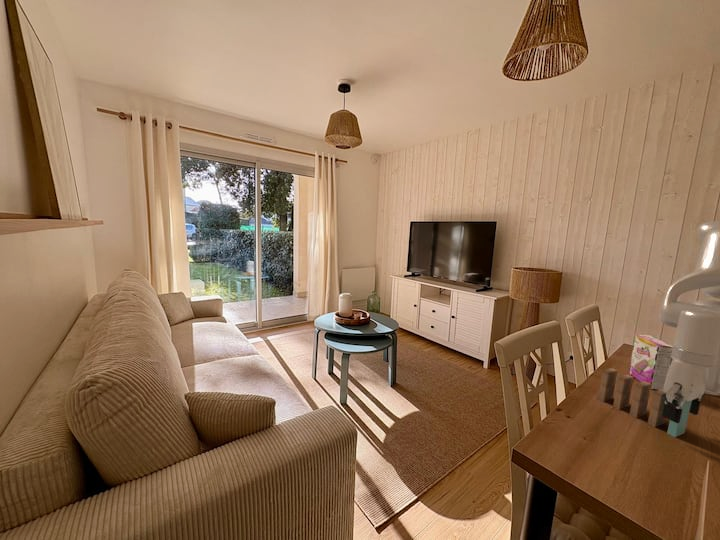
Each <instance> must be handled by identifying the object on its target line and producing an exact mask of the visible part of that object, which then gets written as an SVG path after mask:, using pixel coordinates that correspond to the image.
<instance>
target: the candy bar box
mask: <svg viewBox="0 0 720 540" xmlns="http://www.w3.org/2000/svg"><path fill="white" fill-rule="evenodd" d="M634 336H635V337H634V341H633V347H632V352H631V359H630V364H629V370H628V375H632V376H633V377H635V378H636V380H637V381H638V380H639V383H640V382H643V381H646V382H649V383H651V389H650V390H652V389H655V390H654V391H657V390H660V389H663V387H664V384H665V380H666V376H667V373H668V370H669V367H670V365H671V362H672V360H673V358H672V357H671V355H672V350H673V345H670V344H668V343H667V342H664V341H663V340H660V339H658V338H656V337H654V336H652V335H648V334H639V333H635V335H634ZM635 378H634V379H635Z"/></svg>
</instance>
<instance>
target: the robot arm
mask: <svg viewBox="0 0 720 540" xmlns="http://www.w3.org/2000/svg"><path fill="white" fill-rule="evenodd" d="M696 237H697V240H698V242H699V245H700V246H701V247H700V250H699V254H698V257H697V261H696V263H695V267H694V270H693V272H690V273H688V274H686V275H683V276H681V277H680V278H677V280H675V281H673V282H672V283H671V284H670V285H669V286H668V287H667V288H666V290H665V292H664V293H663V297H662V300H661V302H660V306H659V310H658V319H659V321H660V323H661V324H663V325H665V326H668V327H671V328H676V331H675V337H674V341H673V345H672V346H673V350H672V355H671V357H672V361H671V365H670V367H669V370H668V373H667V376H666V380H665V384H664V387H663V392H664V393H665V394H666V398H665V405H664V409H663V414H662V416H663V417H665V419H667V420H669V421H670V420H671V421H673V422H675V423H680V419H681V414H682V410H683V409H681V407H682V405H683V403H684V402H685V401H691V400H692V402H691V407H690V411H689V414H692V415H695V416H697V415H698V414H699V410H700V407H701V402H702V401H701V400H702V399H703V398H702V396H703V395H711V396H719V397H720V301H719V300H712V299H699V300H698V299H697V300H695V301H693V302H691V303H689V302H683V301H678V298H679V297H681V296H682V295H684V294H685V293H687V292H692V291H694V290H700V293H702V295H704V296H707V297H709V298H715V299H720V220H715V221H707V222H703V223H701V224H700V225H698V227H697V230H696ZM675 399H678V400H679V402H678V403H677V401H676V400H675Z"/></svg>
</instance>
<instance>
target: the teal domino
mask: <svg viewBox="0 0 720 540" xmlns="http://www.w3.org/2000/svg"><path fill="white" fill-rule="evenodd" d="M675 400H676V401H677V403H678V402H679V400H678V399H676V398H675ZM691 402H692V400H691V401H685V402H684V403H683V405H682V407H681V409H683V410H682V414H681V419H680V423H675V422H673V421H671V420H669V422H668V428H667V430H666V431H667V432H666V434H667V435H669V436H672V437H674V438H677V437H679V436H681V435H683V434H685V432H686V428H687V424H688V419H689V415H690V412H689V411H690V407H691Z"/></svg>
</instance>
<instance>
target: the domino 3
mask: <svg viewBox="0 0 720 540" xmlns="http://www.w3.org/2000/svg"><path fill="white" fill-rule="evenodd" d="M633 389H634V390H633V394H632V395H633V396H632V400H631V406H630V409H629V416H630V417H633V418H635V419H637V418H639V417H642V415H643V416H645V415H646V414H647V413H646V412H647V409H648V403H649V397H650V393H651V390H652V389H651V383H649V382H646V381H643V382H640V381H639V382H637V383H635V384H634V388H633ZM644 414H645V415H644Z"/></svg>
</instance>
